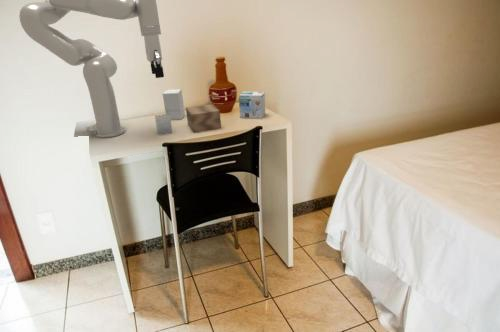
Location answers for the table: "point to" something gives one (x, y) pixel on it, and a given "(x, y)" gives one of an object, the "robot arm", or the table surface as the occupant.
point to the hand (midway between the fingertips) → (158, 75)
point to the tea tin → (163, 124)
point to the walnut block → (203, 118)
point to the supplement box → (174, 104)
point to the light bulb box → (252, 104)
